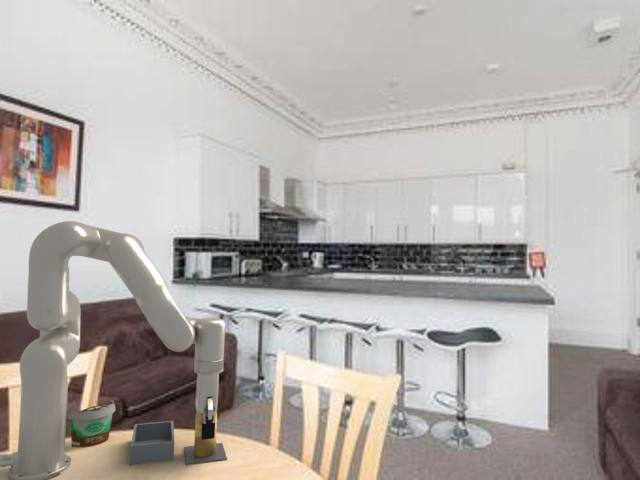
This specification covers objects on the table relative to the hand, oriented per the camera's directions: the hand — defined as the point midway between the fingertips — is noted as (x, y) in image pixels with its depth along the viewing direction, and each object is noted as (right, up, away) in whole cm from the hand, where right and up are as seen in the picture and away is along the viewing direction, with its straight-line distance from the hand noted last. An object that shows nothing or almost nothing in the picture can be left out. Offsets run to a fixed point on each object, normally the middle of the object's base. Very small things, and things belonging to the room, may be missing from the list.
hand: (206, 431), depth 113 cm
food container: (-32, -6, +4) cm, 32 cm away
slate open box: (-14, -6, +1) cm, 16 cm away
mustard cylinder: (0, -6, 0) cm, 6 cm away
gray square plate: (0, -6, 0) cm, 6 cm away
